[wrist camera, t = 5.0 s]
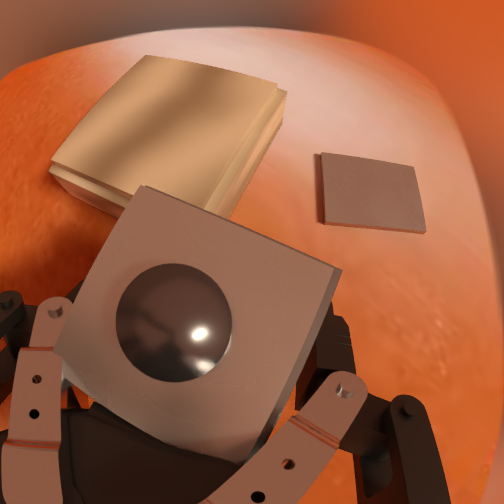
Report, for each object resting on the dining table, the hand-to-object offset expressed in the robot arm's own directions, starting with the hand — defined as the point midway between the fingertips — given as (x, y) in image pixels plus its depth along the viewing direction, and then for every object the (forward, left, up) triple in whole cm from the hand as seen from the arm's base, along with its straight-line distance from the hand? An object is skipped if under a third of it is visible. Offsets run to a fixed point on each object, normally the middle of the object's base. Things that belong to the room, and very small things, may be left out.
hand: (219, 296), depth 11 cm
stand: (-8, +7, -4) cm, 12 cm away
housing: (0, -2, -5) cm, 5 cm away
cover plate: (+5, +10, -5) cm, 13 cm away
